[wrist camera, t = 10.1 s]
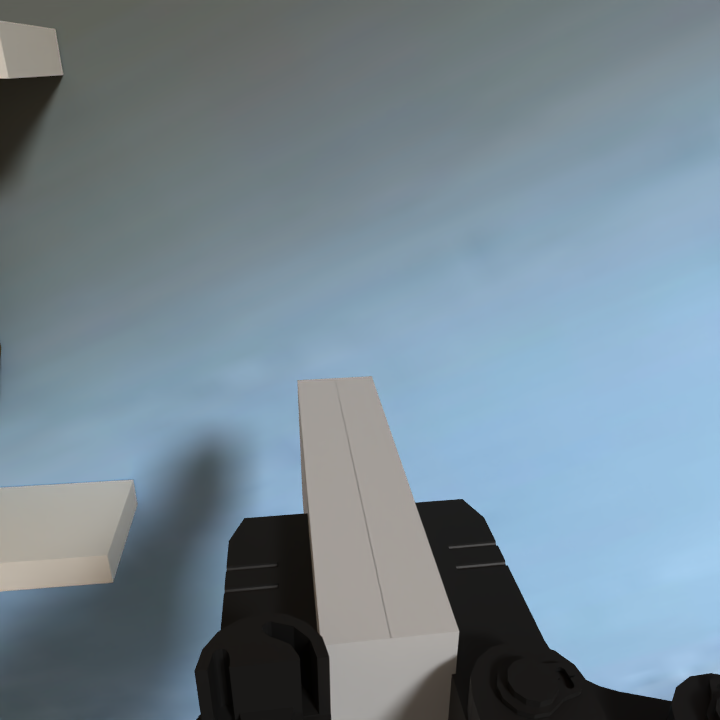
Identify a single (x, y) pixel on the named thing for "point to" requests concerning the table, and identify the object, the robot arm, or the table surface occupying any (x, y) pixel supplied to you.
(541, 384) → the table surface
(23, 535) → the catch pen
